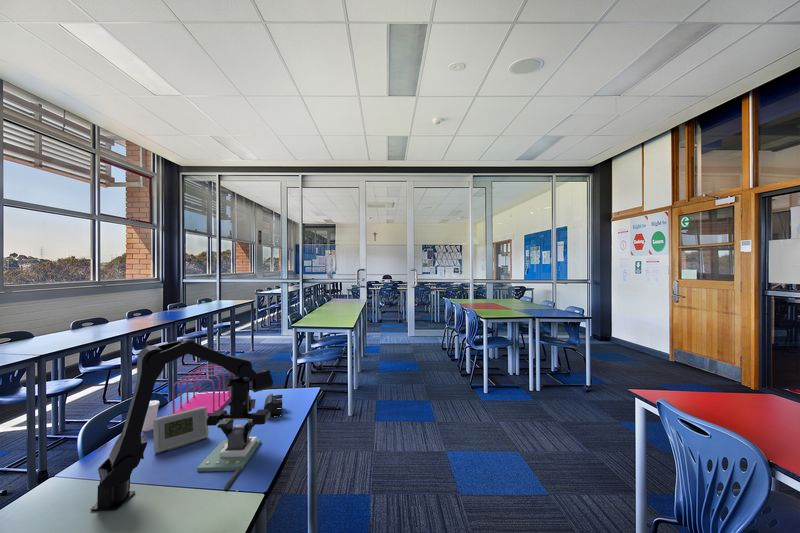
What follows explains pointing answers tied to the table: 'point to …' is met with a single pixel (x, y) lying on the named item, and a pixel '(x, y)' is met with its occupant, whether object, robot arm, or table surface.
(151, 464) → the table surface
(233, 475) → the lead
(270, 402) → the power adapter
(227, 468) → the header board
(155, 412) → the smoothie
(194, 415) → the digital clock
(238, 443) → the plug
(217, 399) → the file sorter
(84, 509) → the table surface
